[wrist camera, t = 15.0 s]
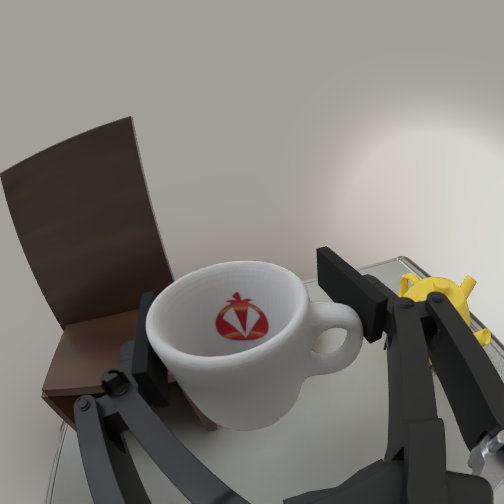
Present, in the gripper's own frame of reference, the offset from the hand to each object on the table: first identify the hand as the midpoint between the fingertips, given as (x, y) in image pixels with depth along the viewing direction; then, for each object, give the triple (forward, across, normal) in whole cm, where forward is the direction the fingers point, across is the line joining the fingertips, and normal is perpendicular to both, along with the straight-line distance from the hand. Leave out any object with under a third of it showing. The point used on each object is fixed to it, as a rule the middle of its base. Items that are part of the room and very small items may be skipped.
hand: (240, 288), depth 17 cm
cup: (-4, 0, -6) cm, 7 cm away
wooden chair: (+8, -15, -21) cm, 27 cm away
